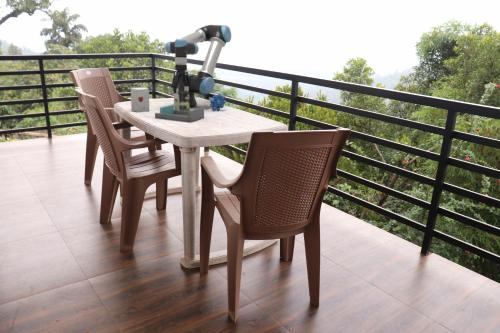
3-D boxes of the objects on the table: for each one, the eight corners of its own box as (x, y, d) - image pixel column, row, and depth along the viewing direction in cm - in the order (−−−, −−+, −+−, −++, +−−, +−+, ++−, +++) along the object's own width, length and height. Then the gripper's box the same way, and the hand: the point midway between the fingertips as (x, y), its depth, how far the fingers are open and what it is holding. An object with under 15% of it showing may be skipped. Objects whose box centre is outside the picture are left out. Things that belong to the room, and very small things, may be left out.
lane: (155, 118, 252) (154, 107, 250) (170, 114, 267) (169, 103, 265) (190, 122, 244) (190, 111, 242) (204, 117, 259) (204, 107, 257)
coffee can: (191, 112, 277) (191, 91, 273) (186, 114, 267) (186, 92, 263) (177, 111, 279) (176, 90, 275) (171, 113, 269) (171, 92, 265)
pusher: (160, 116, 253) (159, 107, 251) (171, 113, 265) (171, 104, 263) (162, 117, 252) (162, 107, 250) (174, 113, 264) (173, 104, 262)
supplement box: (137, 112, 269) (136, 89, 265) (131, 110, 276) (130, 87, 271) (150, 111, 275) (149, 88, 270) (143, 109, 281) (142, 87, 277)
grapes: (223, 109, 291) (223, 92, 288) (226, 111, 285) (227, 93, 282) (207, 110, 287) (207, 92, 283) (210, 111, 281) (211, 94, 277)
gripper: (185, 63, 276) (185, 95, 282) (165, 64, 254) (165, 98, 260) (195, 64, 273) (195, 96, 279) (175, 65, 251) (176, 99, 257)
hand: (181, 97), depth 270 cm, fingers open, 13 cm apart
